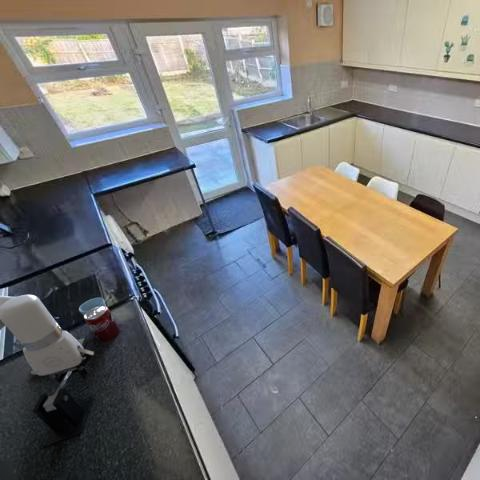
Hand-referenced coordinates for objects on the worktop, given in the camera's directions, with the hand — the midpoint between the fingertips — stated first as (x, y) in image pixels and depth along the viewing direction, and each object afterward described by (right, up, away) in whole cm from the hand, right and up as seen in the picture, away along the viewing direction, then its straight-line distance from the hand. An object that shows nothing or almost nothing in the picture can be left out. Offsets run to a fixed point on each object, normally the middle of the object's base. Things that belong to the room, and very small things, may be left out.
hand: (76, 377), depth 81 cm
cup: (-13, +8, +26) cm, 30 cm away
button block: (-16, 0, +12) cm, 20 cm away
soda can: (-6, +5, +21) cm, 22 cm away
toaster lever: (+2, 0, -6) cm, 6 cm away
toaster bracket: (+4, -10, -6) cm, 12 cm away
